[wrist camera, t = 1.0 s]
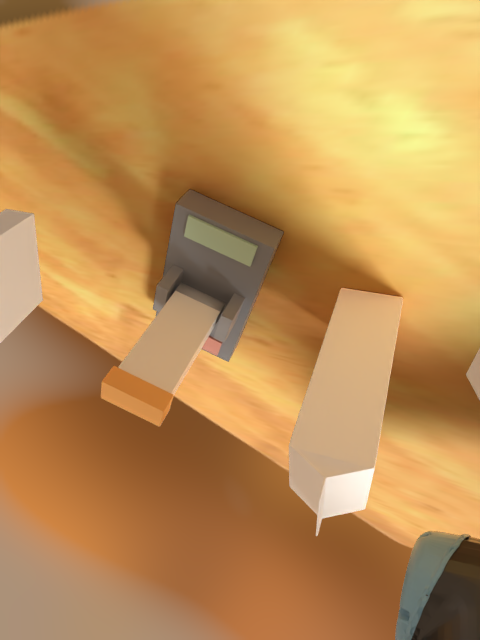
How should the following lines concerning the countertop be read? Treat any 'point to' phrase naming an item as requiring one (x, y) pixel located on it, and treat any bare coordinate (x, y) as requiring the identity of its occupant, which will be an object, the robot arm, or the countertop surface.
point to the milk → (345, 405)
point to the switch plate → (218, 263)
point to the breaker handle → (163, 355)
